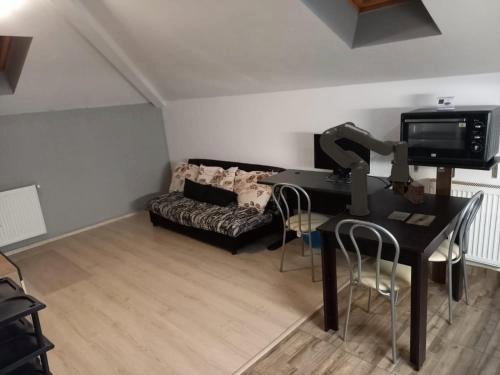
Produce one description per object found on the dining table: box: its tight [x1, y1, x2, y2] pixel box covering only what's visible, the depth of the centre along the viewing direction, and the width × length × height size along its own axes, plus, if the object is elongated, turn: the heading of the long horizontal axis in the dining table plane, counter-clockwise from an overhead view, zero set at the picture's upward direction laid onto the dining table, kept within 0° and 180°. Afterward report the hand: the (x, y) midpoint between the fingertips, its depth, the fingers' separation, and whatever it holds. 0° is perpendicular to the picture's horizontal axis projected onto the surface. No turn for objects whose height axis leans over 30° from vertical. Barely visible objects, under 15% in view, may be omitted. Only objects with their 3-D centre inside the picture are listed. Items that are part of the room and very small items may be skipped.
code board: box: [405, 213, 436, 227], centre depth 225 cm, size 12×18×1 cm, turn 142°
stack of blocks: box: [402, 180, 425, 205], centre depth 262 cm, size 21×6×12 cm, turn 1°
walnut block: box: [392, 182, 407, 196], centre depth 229 cm, size 6×6×7 cm
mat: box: [386, 210, 411, 221], centre depth 234 cm, size 10×14×1 cm
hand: (399, 191), depth 230 cm, fingers closed on walnut block, 6 cm apart
